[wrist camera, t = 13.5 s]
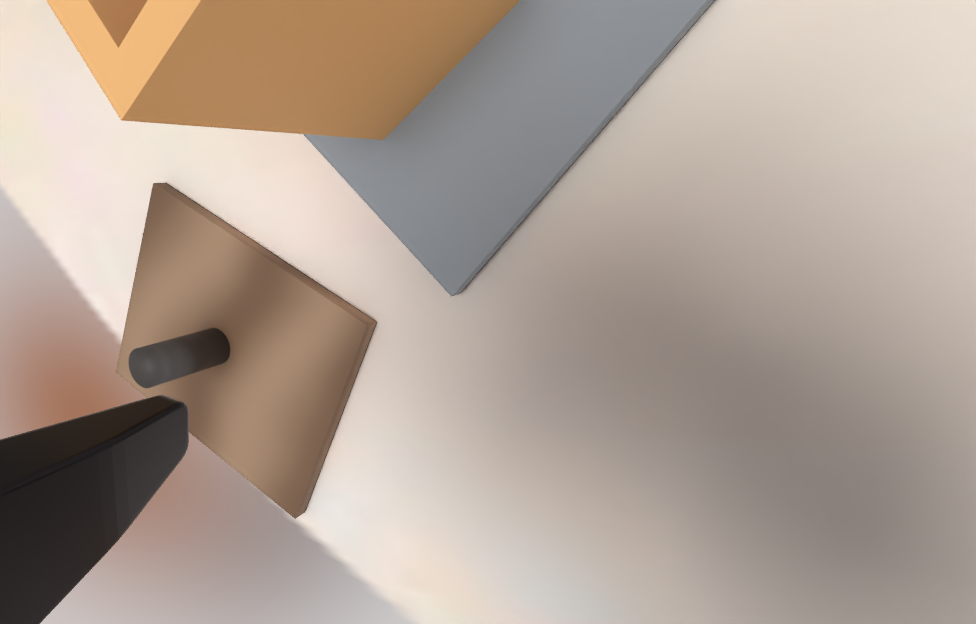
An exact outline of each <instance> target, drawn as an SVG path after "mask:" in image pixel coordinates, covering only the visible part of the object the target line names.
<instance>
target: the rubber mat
mask: <svg viewBox="0 0 976 624" xmlns="http://www.w3.org/2000/svg"><path fill="white" fill-rule="evenodd" d="M713 2H714V0H520V1H519V2H518V3H517V4H516V5H515V6H514V7H513V8H512V9H511V10H510V11H509V12H508V13H507V14H506V15H505V16H504V17H503V18H502V19H501V20H500V21H499V22H498V23H497V24H496V25H495V26H494V27H493V28H492V29H491V30H490V32H489V33H488V34H487V35H486V36H485V37H484V38H483V39H482V40H481V41H480V42H479V43H478V44H477V45H476V46H475V47H474V48H473V49H472V50H471V51H470V52H469V53H468V54H467V55H466V56H465V57H464V58H463V59H462V60H461V61H460V62H459V63H458V64H457V65H456V66H455V67H454V68H453V69H452V70H451V71H450V72H449V73H448V74H447V75H446V77H445V78H444V79H443V80H442V81H441V82H440V83H439V84H438V85H437V86H436V87H435V88H434V89H433V90H432V91H431V92H430V93H429V94H428V95H427V96H426V97H425V98H424V99H423V100H422V101H421V102H420V103H419V104H418V105H417V106H416V107H415V108H414V109H413V110H412V111H411V112H410V113H409V114H408V115H407V116H406V117H405V118H404V119H403V120H402V122H401V123H400V124H399V125H398V126H397V127H396V128H395V129H394V130H393V131H392V132H391V133H390V134H389V135H388V136H387V137H386V138H385V139H384V140H377V139H364V138H351V137H338V136H324V135H311V134H304V136H305V137H306V138H307V139H308V140H309V141H310V142H311V143H312V144H313V145H314V146H315V148H316V149H317V150H318V151H319V152H320V153H321V154H322V155H323V156H324V157H325V158H326V160H327V161H328V162H329V163H330V164H331V165H332V166H333V167H334V168H335V169H336V170H337V172H338V173H339V174H340V175H341V176H342V177H343V178H344V179H345V180H346V181H347V183H348V184H349V185H350V186H351V187H352V188H353V189H354V190H355V191H356V192H357V193H358V195H359V196H360V197H361V198H362V199H363V200H364V201H365V202H366V203H367V204H368V205H369V207H370V208H371V209H372V210H373V211H374V212H375V213H376V214H377V215H378V216H379V218H380V219H381V220H382V221H383V222H384V223H385V224H386V225H387V226H388V227H389V228H390V230H391V231H392V232H393V233H394V234H395V235H396V236H397V237H398V238H399V239H400V240H401V242H402V243H403V244H404V245H405V246H406V247H407V248H408V249H409V250H410V251H411V252H412V254H413V255H414V256H415V257H416V258H417V259H418V260H419V261H420V262H421V263H422V265H423V266H424V267H425V268H426V269H427V270H428V271H429V272H430V273H431V274H432V275H433V277H434V278H435V279H436V280H437V281H438V282H439V283H440V284H441V285H442V286H443V287H444V289H445V290H446V291H447V292H448V293H449V294H450V295H451V296H454V295H457V294H459V293H461V291H462V290H463V289H464V288H465V287H466V286H467V285H468V283H469V282H470V281H471V280H472V279H473V278H474V276H475V275H476V274H477V273H478V272H479V271H480V270H481V268H482V267H483V266H484V265H485V264H486V263H487V262H488V260H489V259H490V258H491V257H492V256H493V255H494V253H495V252H496V251H497V250H498V249H499V248H500V247H501V245H502V244H503V243H504V242H505V241H506V240H507V239H508V237H509V236H510V235H511V234H512V233H513V232H514V230H515V229H516V228H517V227H518V226H519V225H520V224H521V222H522V221H523V220H524V219H525V218H526V217H527V216H528V214H529V213H530V212H531V211H532V210H533V209H534V207H535V206H536V205H537V204H538V203H539V202H540V201H541V199H542V198H543V197H544V196H545V195H546V194H547V193H548V191H549V190H550V189H551V188H552V187H553V186H554V184H555V183H556V182H557V181H558V180H559V179H560V178H561V176H562V175H563V174H564V173H565V172H566V171H567V169H568V168H569V167H570V166H571V165H572V164H573V163H574V161H575V160H576V159H577V158H578V157H579V156H580V155H581V153H582V152H583V151H584V150H585V149H586V148H587V146H588V145H589V144H590V143H591V142H592V141H593V140H594V138H595V137H596V136H597V135H598V134H599V133H600V132H601V130H602V129H603V128H604V127H605V126H606V125H607V123H608V122H609V121H610V120H611V119H612V118H613V117H614V115H615V114H616V113H617V112H618V111H619V110H620V109H621V107H622V106H623V105H624V104H625V103H626V102H627V100H628V99H629V98H630V97H631V96H632V95H633V94H634V92H635V91H636V90H637V89H638V88H639V87H640V86H641V84H642V83H643V82H644V81H645V80H646V79H647V77H648V76H649V75H650V74H651V73H652V72H653V71H654V69H655V68H656V67H657V66H658V65H659V64H660V63H661V61H662V60H663V59H664V58H665V57H666V56H667V54H668V53H669V52H670V51H671V50H672V49H673V48H674V46H675V45H676V44H677V43H678V42H679V41H680V40H681V38H682V37H683V36H684V35H685V34H686V33H687V31H688V30H689V29H690V28H691V27H692V26H693V25H694V23H695V22H696V21H697V20H698V19H699V18H700V16H701V15H702V14H703V13H704V12H705V11H706V10H707V8H708V7H709V6H710V5H711V4H712V3H713Z"/></svg>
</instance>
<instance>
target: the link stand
mask: <svg viewBox="0 0 976 624" xmlns="http://www.w3.org/2000/svg"><path fill="white" fill-rule="evenodd" d="M375 325H376V321H374V320H373V319H371V318H370V317H368V316H367V315H365V314H364V313H362V312H361V311H359V310H358V309H356V308H355V307H353V306H352V305H350V304H349V303H347V302H345V301H344V300H342V299H341V298H339V297H338V296H336V295H335V294H333V293H332V292H330V291H329V290H327V289H326V288H324V287H323V286H321V285H320V284H318V283H317V282H315V281H314V280H312V279H311V278H309V277H308V276H306V275H305V274H303V273H301V272H300V271H298V270H297V269H295V268H294V267H292V266H291V265H289V264H288V263H286V262H285V261H283V260H282V259H280V258H279V257H277V256H276V255H274V254H273V253H271V252H270V251H268V250H267V249H265V248H264V247H262V246H261V245H259V244H258V243H256V242H254V241H253V240H251V239H250V238H248V237H247V236H245V235H244V234H242V233H241V232H239V231H238V230H236V229H235V228H233V227H232V226H230V225H229V224H227V223H226V222H224V221H223V220H221V219H220V218H218V217H217V216H215V215H214V214H212V213H210V212H209V211H207V210H206V209H204V208H203V207H201V206H200V205H198V204H197V203H195V202H194V201H192V200H191V199H189V198H188V197H186V196H185V195H183V194H182V193H180V192H179V191H177V190H176V189H174V188H173V187H171V186H170V185H168V184H167V183H153V188H152V193H151V198H150V203H149V208H148V213H147V218H146V223H145V228H144V233H143V238H142V243H141V248H140V253H139V258H138V263H137V268H136V273H135V278H134V283H133V288H132V293H131V298H130V303H129V308H128V313H127V318H126V323H125V329H124V334H123V339H122V344H121V349H120V354H119V359H118V364H117V369H116V373H117V374H119V375H120V376H121V377H122V378H124V379H125V380H126V381H127V382H128V383H130V384H131V385H132V386H134V387H135V388H136V389H137V390H138V391H140V392H141V393H142V394H143V395H144V396H146V397H147V398H149V397H153V396H157V395H166V396H169V397H171V398H174V399H177V400H179V401H182V402H184V403H185V404H186V405H187V407H188V430H189V432H190V433H191V434H192V435H193V436H195V437H196V438H197V439H199V440H200V441H201V442H202V443H203V444H204V445H206V446H207V447H208V448H209V449H211V450H212V451H213V452H214V453H215V454H217V455H218V456H219V457H220V458H222V459H223V460H224V461H225V462H226V463H228V464H229V465H230V466H231V467H232V468H234V469H235V470H236V471H237V472H239V473H240V474H241V475H242V476H244V477H245V478H246V479H247V480H248V481H250V482H251V483H252V484H253V485H255V486H256V487H257V488H258V489H259V490H261V491H262V492H263V493H264V494H266V495H267V496H268V497H269V498H270V499H272V500H273V501H274V502H275V503H277V504H278V505H279V506H280V507H281V508H283V509H284V510H285V511H286V512H288V513H289V514H290V515H291V516H292V517H294V518H295V519H296V518H297V517H298V516H300V515H301V514H303V513H304V512H305V510H306V507H307V505H308V502H309V500H310V497H311V494H312V492H313V489H314V486H315V484H316V481H317V478H318V476H319V473H320V470H321V468H322V465H323V462H324V460H325V457H326V455H327V452H328V449H329V447H330V444H331V441H332V439H333V436H334V433H335V431H336V428H337V425H338V423H339V420H340V418H341V415H342V412H343V410H344V407H345V404H346V402H347V399H348V396H349V394H350V391H351V388H352V386H353V383H354V381H355V378H356V375H357V373H358V370H359V367H360V365H361V362H362V359H363V357H364V354H365V351H366V349H367V346H368V343H369V341H370V338H371V336H372V333H373V330H374V328H375Z"/></svg>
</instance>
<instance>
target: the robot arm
mask: <svg viewBox="0 0 976 624" xmlns="http://www.w3.org/2000/svg"><path fill="white" fill-rule="evenodd" d="M188 432H189V430H188V407H187V405H186V404H185V403H184V402H182V401H179V400H177V399H174V398H171V397H169V396H166V395H157V396H153V397H149V398H146V399H142V400H139V401H136V402H132V403H128V404H125V405H121V406H118V407H114V408H111V409H107V410H104V411H100V412H96V413H93V414H89V415H86V416H82V417H79V418H75V419H72V420H68V421H65V422H61V423H57V424H54V425H50V426H47V427H43V428H40V429H36V430H33V431H29V432H26V433H22V434H19V435H15V436H11V437H8V438H4V439H1V440H0V624H40V623H41V622H42V621H43V619H44V618H45V617H46V616H47V615H48V614H49V613H50V612H51V611H52V610H53V609H54V608H55V607H56V606H57V605H58V604H59V602H61V601H62V599H63V598H64V597H65V596H66V595H67V594H68V593H69V592H70V591H71V590H72V589H73V588H74V587H75V586H76V585H77V584H78V582H80V580H81V579H82V578H83V577H84V576H85V575H86V574H87V573H88V572H89V571H90V570H91V569H92V567H94V566H95V564H97V562H98V561H99V560H100V559H101V558H102V557H103V556H104V555H105V554H106V553H107V552H108V551H109V550H110V549H111V547H112V546H113V545H114V544H115V543H116V542H117V541H118V540H119V538H120V537H121V536H122V535H123V534H124V532H125V531H126V530H127V529H128V528H129V526H130V525H131V524H132V523H133V521H134V520H135V519H136V517H137V516H138V515H139V514H140V512H141V511H142V510H143V508H144V507H145V506H146V505H147V503H148V502H149V501H150V499H151V498H152V497H153V496H154V494H155V493H156V491H157V490H158V489H159V488H160V487H161V485H162V484H163V483H164V481H165V480H166V479H167V478H168V476H169V475H170V473H171V472H172V471H173V470H174V468H175V467H176V466H177V465H178V463H179V462H180V461H181V459H182V458H183V456H184V455H185V453H186V450H187V447H188V442H189V435H188Z"/></svg>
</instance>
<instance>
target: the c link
mask: <svg viewBox="0 0 976 624" xmlns="http://www.w3.org/2000/svg"><path fill="white" fill-rule="evenodd" d="M46 1H47V2H48V4H49V5H50V7H51V9H52V10H53V12H54V13H55V15H56V17H57V18H58V20H59V21H60V23H61V25H62V26H63V28H64V29H65V31H66V33H67V34H68V36H69V37H70V39H71V41H72V42H73V44H74V45H75V47H76V49H77V50H78V52H79V53H80V55H81V57H82V58H83V60H84V61H85V63H86V65H87V66H88V68H89V69H90V71H91V73H92V74H93V76H94V77H95V79H96V81H97V82H98V84H99V85H100V87H101V89H102V90H103V92H104V93H105V95H106V97H107V98H108V100H109V101H110V103H111V104H112V106H113V108H114V109H115V111H116V112H117V114H118V116H119V117H120V119H121V120H125V121H138V122H151V123H164V124H178V125H191V126H204V127H218V128H231V129H244V130H258V131H271V132H284V133H298V134H311V135H324V136H338V137H351V138H364V139H377V140H384V139H385V138H386V137H387V136H388V135H389V134H390V133H391V132H392V131H393V130H394V129H395V128H396V127H397V126H398V125H399V124H400V123H401V122H402V120H403V119H404V118H405V117H406V116H407V115H408V114H409V113H410V112H411V111H412V110H413V109H414V108H415V107H416V106H417V105H418V104H419V103H420V102H421V101H422V100H423V99H424V98H425V97H426V96H427V95H428V94H429V93H430V92H431V91H432V90H433V89H434V88H435V87H436V86H437V85H438V84H439V83H440V82H441V81H442V80H443V79H444V78H445V77H446V75H447V74H448V73H449V72H450V71H451V70H452V69H453V68H454V67H455V66H456V65H457V64H458V63H459V62H460V61H461V60H462V59H463V58H464V57H465V56H466V55H467V54H468V53H469V52H470V51H471V50H472V49H473V48H474V47H475V46H476V45H477V44H478V43H479V42H480V41H481V40H482V39H483V38H484V37H485V36H486V35H487V34H488V33H489V32H490V30H491V29H492V28H493V27H494V26H495V25H496V24H497V23H498V22H499V21H500V20H501V19H502V18H503V17H504V16H505V15H506V14H507V13H508V12H509V11H510V10H511V9H512V8H513V7H514V6H515V5H516V4H517V3H518V2H519V1H520V0H46Z"/></svg>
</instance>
